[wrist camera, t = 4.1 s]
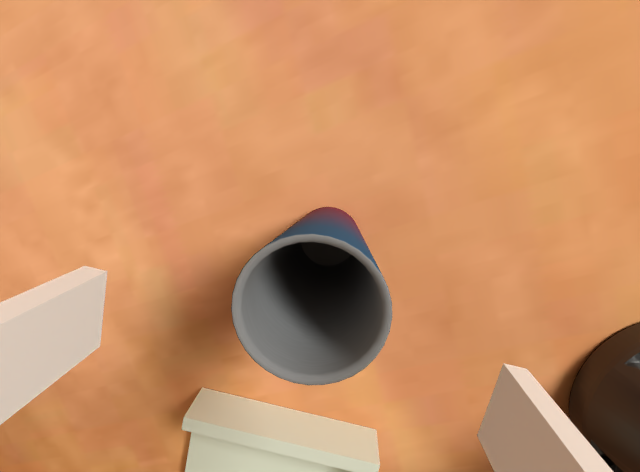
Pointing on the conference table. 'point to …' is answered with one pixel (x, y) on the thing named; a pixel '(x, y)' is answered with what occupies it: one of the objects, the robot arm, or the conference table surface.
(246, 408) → the open sided tray
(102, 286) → the robot arm
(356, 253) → the cup
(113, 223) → the conference table surface
